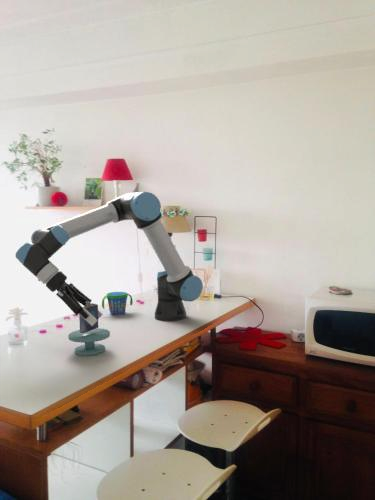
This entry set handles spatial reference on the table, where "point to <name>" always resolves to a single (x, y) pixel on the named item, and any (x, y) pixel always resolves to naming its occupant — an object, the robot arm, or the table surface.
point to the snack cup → (117, 302)
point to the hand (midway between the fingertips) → (97, 320)
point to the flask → (94, 312)
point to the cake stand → (89, 341)
